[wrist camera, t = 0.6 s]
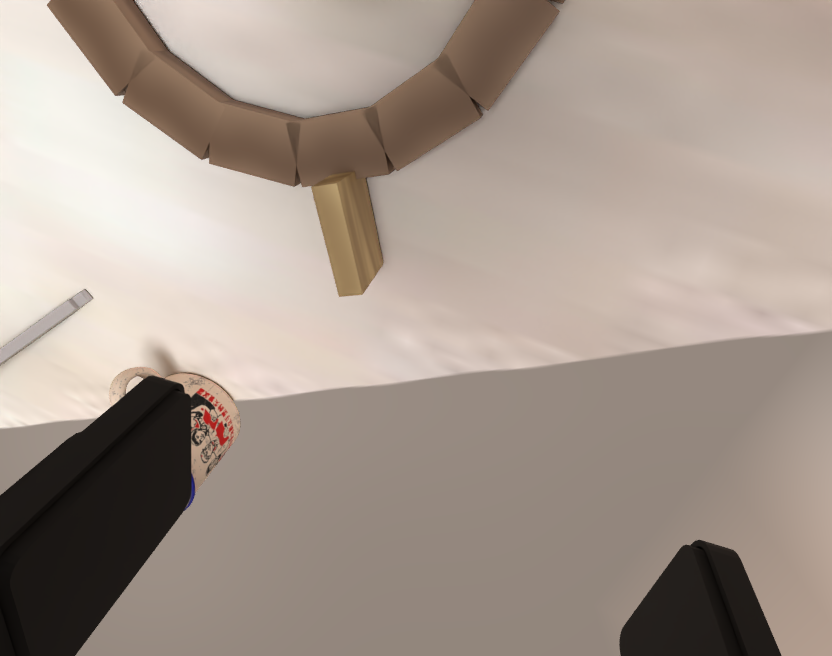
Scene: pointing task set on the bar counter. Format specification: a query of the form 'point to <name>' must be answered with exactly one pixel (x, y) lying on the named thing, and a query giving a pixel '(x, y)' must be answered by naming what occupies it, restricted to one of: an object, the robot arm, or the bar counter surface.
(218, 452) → the teacup with lid
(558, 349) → the bar counter surface
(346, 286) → the turning ring
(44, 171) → the bar counter surface
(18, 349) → the caliper
